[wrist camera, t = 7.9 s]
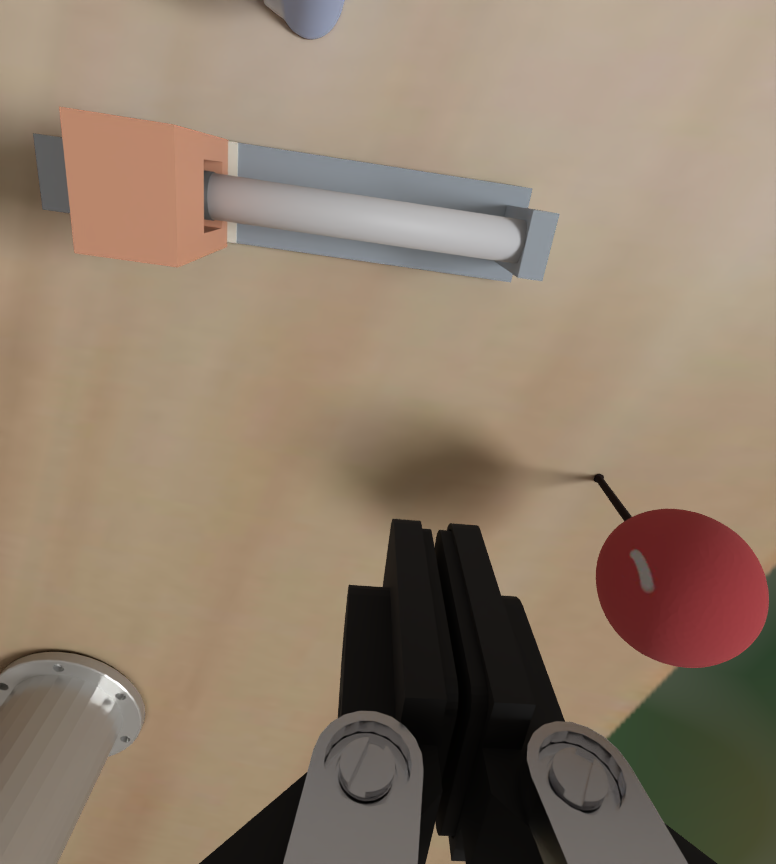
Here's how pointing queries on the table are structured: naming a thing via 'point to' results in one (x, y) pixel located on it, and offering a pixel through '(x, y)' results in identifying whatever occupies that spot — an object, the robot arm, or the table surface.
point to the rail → (365, 187)
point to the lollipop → (680, 586)
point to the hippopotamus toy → (308, 15)
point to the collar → (140, 188)
